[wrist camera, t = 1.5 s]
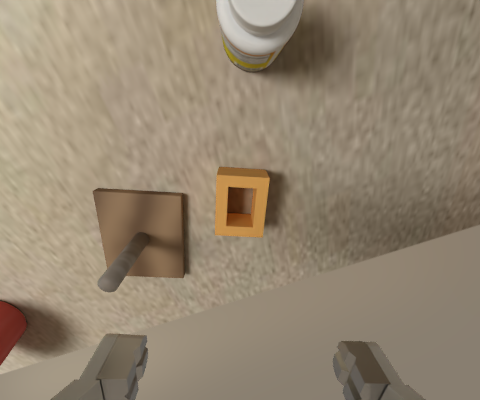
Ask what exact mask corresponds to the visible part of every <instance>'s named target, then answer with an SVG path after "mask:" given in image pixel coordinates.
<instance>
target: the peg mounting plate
mask: <svg viewBox="0 0 480 400" xmlns="http://www.w3.org/2000/svg"><path fill="white" fill-rule="evenodd" d="M93 195H94V200H95V206H96V211H97V216H98V222H99V227H100V232H101V238H102V243H103V248H104V253H105V259H106V264H107V270H106V271H105V273H104V274H103V275H102V276H101V277H100V279H99V280H98V286H99V288H100V289H101V290H103V291H105V292H114V291H115V290H117V288H118V287H119V285H120V284H121V282H122V281H123V279H124V278H125V276H144V277H168V278H184V275H185V257H184V223H183V193H171V192H153V191H136V190H118V189H100V188H98V189H96V190H94V191H93Z"/></svg>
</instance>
